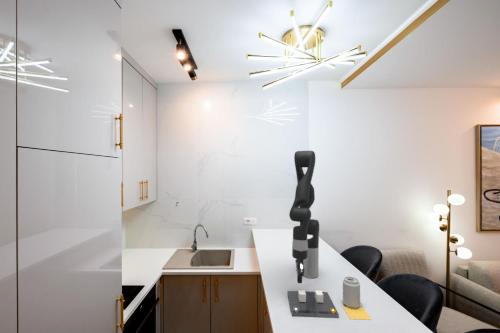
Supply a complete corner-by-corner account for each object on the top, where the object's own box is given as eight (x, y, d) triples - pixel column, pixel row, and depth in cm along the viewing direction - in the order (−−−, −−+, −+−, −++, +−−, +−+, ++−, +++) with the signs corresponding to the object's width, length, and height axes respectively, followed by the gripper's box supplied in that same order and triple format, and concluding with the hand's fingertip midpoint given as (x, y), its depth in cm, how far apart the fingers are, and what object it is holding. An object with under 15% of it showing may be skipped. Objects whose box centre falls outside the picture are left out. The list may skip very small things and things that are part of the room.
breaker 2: (314, 297, 114) (314, 290, 114) (321, 297, 114) (321, 290, 114) (316, 302, 110) (316, 294, 110) (323, 302, 110) (323, 295, 110)
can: (355, 300, 115) (355, 275, 115) (363, 309, 108) (363, 282, 108) (340, 300, 115) (340, 275, 115) (347, 309, 107) (347, 282, 107)
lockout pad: (342, 306, 110) (342, 306, 110) (362, 307, 109) (362, 306, 109) (349, 319, 101) (349, 318, 101) (371, 319, 100) (371, 319, 100)
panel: (287, 293, 121) (287, 288, 121) (327, 295, 120) (327, 289, 120) (291, 316, 103) (291, 309, 103) (338, 317, 102) (338, 311, 102)
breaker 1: (298, 297, 114) (298, 289, 114) (304, 297, 114) (304, 290, 114) (299, 301, 110) (299, 294, 110) (305, 302, 110) (305, 294, 110)
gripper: (290, 243, 125) (290, 276, 125) (294, 251, 112) (293, 288, 112) (305, 243, 125) (304, 277, 124) (310, 252, 111) (309, 289, 111)
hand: (299, 282), depth 118 cm, fingers closed
